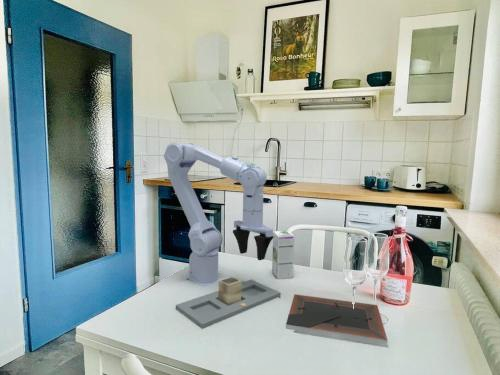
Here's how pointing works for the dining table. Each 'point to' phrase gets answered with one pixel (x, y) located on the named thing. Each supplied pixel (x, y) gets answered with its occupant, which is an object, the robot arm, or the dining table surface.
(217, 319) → the paneled door
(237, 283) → the frame block
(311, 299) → the picture frame
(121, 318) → the dining table surface
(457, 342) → the dining table surface
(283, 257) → the syrup box
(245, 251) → the robot arm
